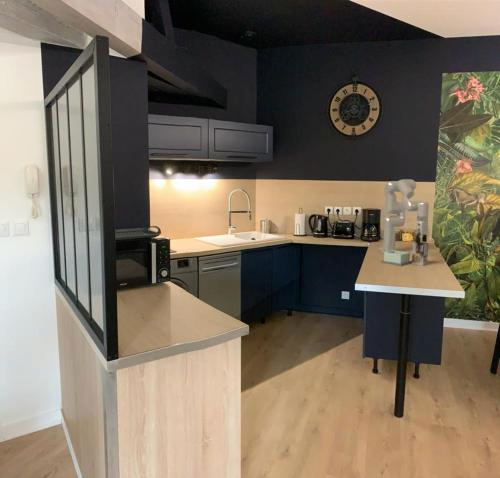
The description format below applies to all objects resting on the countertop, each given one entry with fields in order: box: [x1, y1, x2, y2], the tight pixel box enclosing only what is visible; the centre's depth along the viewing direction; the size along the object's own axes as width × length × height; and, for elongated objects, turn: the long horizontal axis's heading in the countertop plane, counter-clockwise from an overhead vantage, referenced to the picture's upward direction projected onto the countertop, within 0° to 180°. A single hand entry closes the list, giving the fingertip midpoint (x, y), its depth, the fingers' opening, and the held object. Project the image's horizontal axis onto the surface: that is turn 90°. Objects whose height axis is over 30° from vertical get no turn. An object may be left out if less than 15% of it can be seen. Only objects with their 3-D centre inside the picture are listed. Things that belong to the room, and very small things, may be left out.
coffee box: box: [411, 241, 429, 267], centre depth 331 cm, size 9×6×16 cm
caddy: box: [381, 249, 412, 267], centre depth 336 cm, size 16×16×8 cm
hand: (421, 242), depth 329 cm, fingers open, 9 cm apart
